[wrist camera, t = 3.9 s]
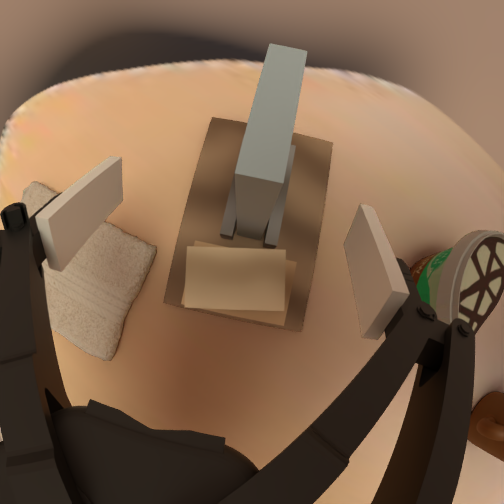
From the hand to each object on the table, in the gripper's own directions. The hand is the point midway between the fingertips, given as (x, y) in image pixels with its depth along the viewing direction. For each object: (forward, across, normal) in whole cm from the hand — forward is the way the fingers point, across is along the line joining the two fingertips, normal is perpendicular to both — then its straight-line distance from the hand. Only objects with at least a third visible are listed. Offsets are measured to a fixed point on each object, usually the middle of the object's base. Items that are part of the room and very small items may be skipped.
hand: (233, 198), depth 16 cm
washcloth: (+4, -16, -13) cm, 21 cm away
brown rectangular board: (+9, +1, -7) cm, 12 cm away
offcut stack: (+4, +1, -10) cm, 11 cm away
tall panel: (+10, +1, -4) cm, 11 cm away
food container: (+8, +19, -8) cm, 22 cm away
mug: (-3, +33, -19) cm, 39 cm away
